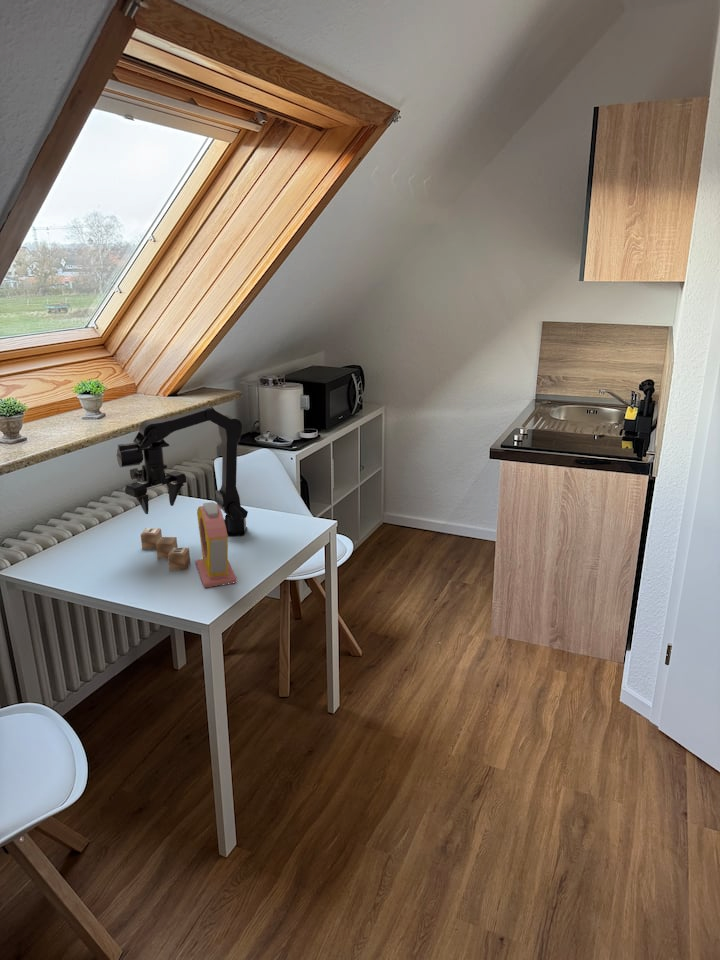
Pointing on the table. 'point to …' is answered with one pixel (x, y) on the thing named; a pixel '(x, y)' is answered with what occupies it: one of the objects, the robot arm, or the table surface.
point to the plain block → (165, 546)
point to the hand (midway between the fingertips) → (159, 509)
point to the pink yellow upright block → (213, 547)
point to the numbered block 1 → (150, 537)
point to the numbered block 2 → (178, 558)
